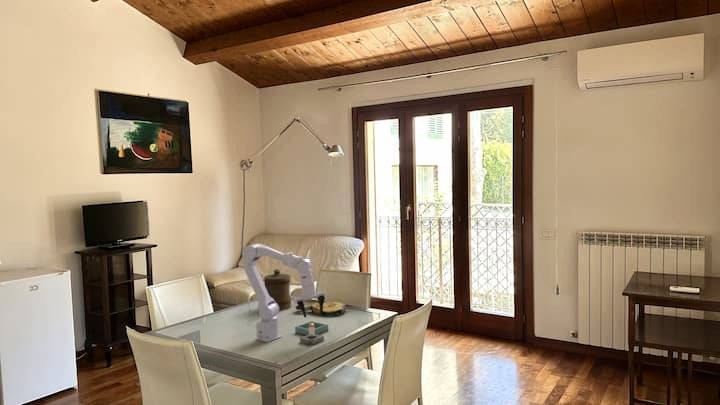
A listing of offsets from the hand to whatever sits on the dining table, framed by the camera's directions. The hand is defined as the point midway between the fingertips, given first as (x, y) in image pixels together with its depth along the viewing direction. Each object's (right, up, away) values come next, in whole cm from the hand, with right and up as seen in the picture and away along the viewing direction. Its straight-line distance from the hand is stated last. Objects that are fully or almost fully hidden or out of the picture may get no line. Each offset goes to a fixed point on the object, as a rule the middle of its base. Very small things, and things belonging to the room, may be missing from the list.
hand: (313, 315), depth 221 cm
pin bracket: (0, -11, -2) cm, 12 cm away
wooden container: (-26, -10, +60) cm, 66 cm away
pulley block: (0, -10, +46) cm, 48 cm away
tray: (-2, -11, +12) cm, 16 cm away
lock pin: (0, -11, -2) cm, 12 cm away
